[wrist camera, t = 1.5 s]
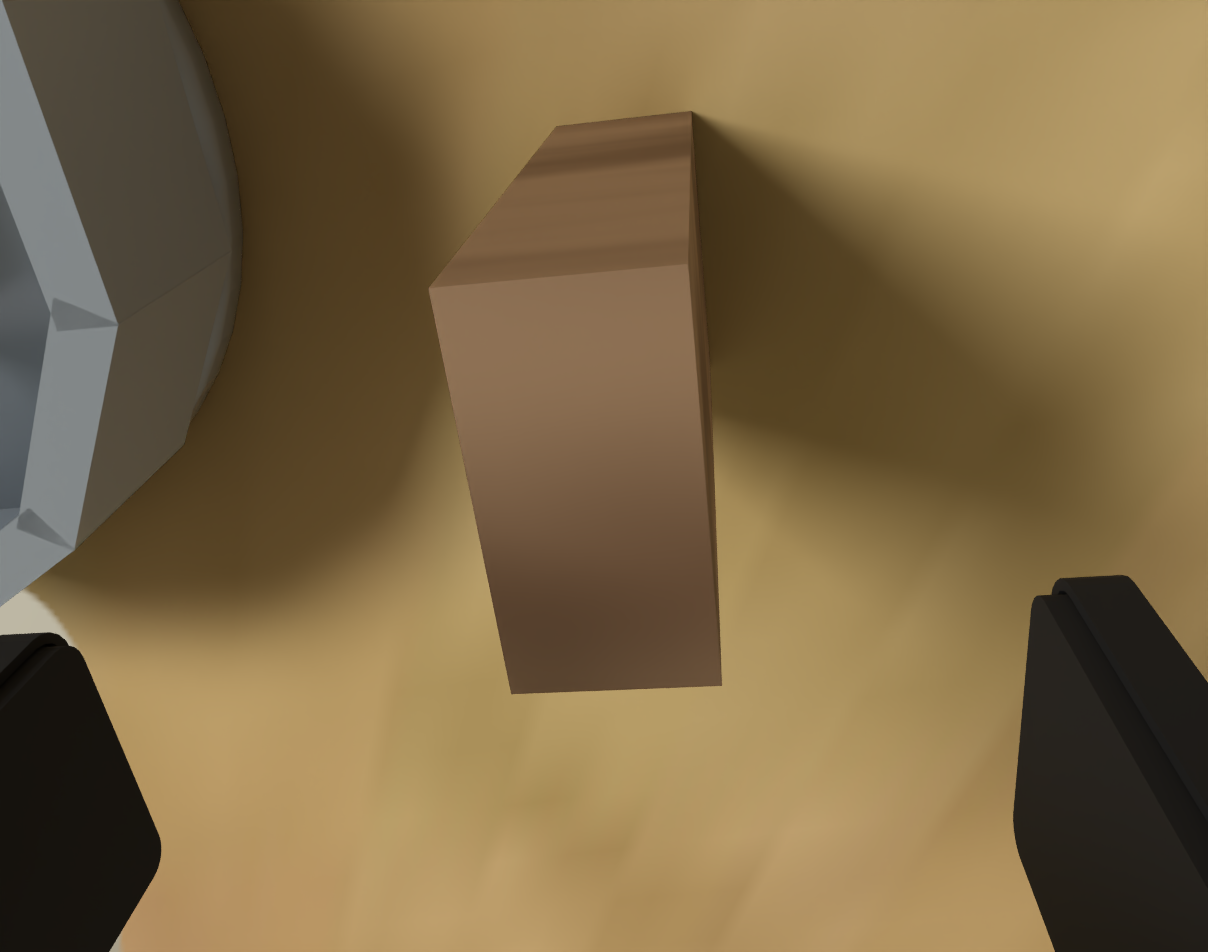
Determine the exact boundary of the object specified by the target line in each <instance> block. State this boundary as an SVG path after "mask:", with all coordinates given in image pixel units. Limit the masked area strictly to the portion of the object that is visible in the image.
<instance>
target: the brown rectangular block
mask: <svg viewBox="0 0 1208 952" xmlns="http://www.w3.org/2000/svg"><path fill="white" fill-rule="evenodd" d="M428 289H429V294H430V299H431V304H432V309H433V314H434V319H435V324H436V328H437V333H438V338H439V343H440V348H441V353H442V358H443V363H444V367H445V372H446V377H447V382H448V387H449V392H450V397H451V402H452V407H453V411H454V416H455V421H456V426H457V431H458V436H459V441H460V446H461V451H462V455H463V460H464V465H465V470H466V475H467V480H468V485H469V490H470V495H471V499H472V504H473V509H474V514H475V519H476V524H477V529H478V534H479V539H480V543H481V548H482V553H483V558H484V563H485V568H486V573H487V578H488V583H489V587H490V592H491V597H492V602H493V607H494V612H495V617H496V622H497V627H498V631H499V636H500V641H501V646H502V651H503V656H504V661H505V666H506V670H507V675H508V680H509V685H510V690H511V694H526V693H551V692H577V691H602V690H627V689H653V688H678V687H703V686H722V675H721V648H720V620H719V593H718V565H717V538H716V510H715V483H714V455H713V428H712V400H711V373H710V356H709V343H708V329H707V315H706V302H705V288H704V274H703V261H702V247H701V233H700V220H699V206H698V193H697V179H696V165H695V152H694V138H693V124H692V111H688V112H680V113H671V114H662V115H653V116H644V117H635V118H626V119H617V120H609V121H600V122H591V123H582V124H573V125H564V126H556V127H555V129H554V130H553V131H552V133H551V134H550V135H549V136H548V138H547V139H546V140H545V141H544V143H543V144H542V145H541V146H540V148H539V149H538V150H537V151H536V153H535V154H534V155H533V157H532V158H531V159H530V160H529V162H528V163H527V164H526V165H525V167H524V168H523V169H522V170H521V172H520V173H519V174H518V175H517V177H516V178H515V179H514V181H513V182H512V183H511V184H510V186H509V187H508V188H507V189H506V191H505V192H504V193H503V194H502V196H501V197H500V198H499V199H498V201H497V202H496V203H495V205H494V206H493V207H492V208H491V210H490V211H489V212H488V213H487V215H486V216H485V217H484V218H483V220H482V221H481V222H480V223H479V225H478V226H477V227H476V229H475V230H474V231H473V232H472V234H471V235H470V236H469V237H468V239H467V240H466V241H465V242H464V244H463V245H462V246H461V247H460V249H459V250H458V251H457V253H456V254H455V255H454V256H453V258H452V259H451V260H450V261H449V263H448V264H447V265H446V266H445V268H444V269H443V270H442V271H441V273H440V274H439V275H438V277H437V278H436V279H435V280H434V282H433V283H432V284H431V285H430V287H429V288H428Z"/></svg>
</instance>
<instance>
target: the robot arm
mask: <svg viewBox="0 0 1208 952" xmlns="http://www.w3.org/2000/svg"><path fill="white" fill-rule="evenodd" d="M1013 823H1014V833H1015V840H1016V845H1017V849H1018V853H1019V856H1020V859H1021V862H1022V864H1023V867H1024V870H1025V872H1026V875H1027V878H1028V880H1029V883H1030V886H1031V888H1032V891H1033V894H1034V896H1035V899H1036V902H1037V904H1038V907H1039V910H1040V912H1041V915H1042V918H1043V920H1044V923H1045V926H1046V928H1047V931H1048V934H1049V936H1050V939H1051V942H1052V944H1053V947H1054V950H1055V952H1208V682H1207V681H1206V680H1205V678H1204V677H1203V675H1202V674H1201V673H1200V671H1199V670H1198V669H1197V667H1196V666H1195V665H1194V663H1193V662H1192V660H1191V659H1190V658H1189V656H1188V655H1187V654H1186V652H1185V651H1184V650H1183V648H1182V647H1181V645H1180V644H1179V643H1178V641H1177V640H1176V639H1175V637H1174V636H1173V635H1172V633H1171V632H1170V630H1169V629H1168V628H1167V626H1166V625H1165V624H1164V622H1163V621H1162V620H1161V618H1160V617H1159V615H1158V614H1157V613H1156V611H1155V610H1154V609H1153V607H1152V606H1151V605H1150V603H1149V602H1148V600H1147V599H1146V598H1145V596H1144V595H1143V594H1142V592H1141V591H1140V590H1139V588H1138V587H1137V585H1136V584H1135V583H1134V582H1133V581H1132V580H1131V579H1130V578H1129V577H1128V576H1124V575H1114V576H1096V577H1077V578H1060V579H1059V580H1057V581H1056V582H1055V584H1054V587H1053V589H1052V595H1040V596H1036V597H1035V598H1034V600H1033V603H1032V608H1031V617H1030V629H1029V640H1028V652H1027V663H1026V675H1025V686H1024V697H1023V709H1022V720H1021V732H1020V743H1019V755H1018V766H1017V778H1016V789H1015V800H1014V812H1013ZM160 858H161V841H160V837H159V834H158V832H157V829H156V827H155V824H154V822H153V820H152V817H151V815H150V813H149V810H148V808H147V806H146V803H145V801H144V799H143V796H142V794H141V792H140V789H139V787H138V784H137V782H136V780H135V777H134V775H133V773H132V770H131V768H130V766H129V763H128V761H127V759H126V756H125V754H124V751H123V749H122V747H121V744H120V742H119V740H118V737H117V735H116V733H115V730H114V728H113V726H112V723H111V721H110V719H109V716H108V714H107V711H106V709H105V707H104V704H103V702H102V700H101V697H100V695H99V693H98V690H97V688H96V686H95V683H94V681H93V679H92V676H91V674H90V671H89V669H88V667H87V664H86V662H85V660H84V658H83V656H82V654H81V653H80V651H79V650H77V649H76V648H75V647H72V646H69V645H68V643H67V642H66V640H65V639H63V638H62V637H61V636H60V635H58V634H54V633H31V634H12V635H0V952H109V951H110V949H111V948H112V946H113V944H114V943H115V941H116V939H117V938H118V936H119V934H120V933H121V931H122V929H123V928H124V926H125V924H126V923H127V921H128V919H129V918H130V916H131V914H132V913H133V911H134V909H135V908H136V906H137V904H138V903H139V901H140V899H141V898H142V896H143V894H144V893H145V891H146V889H147V888H148V886H149V884H150V883H151V881H152V879H153V878H154V876H155V874H156V872H157V869H158V866H159V863H160Z"/></svg>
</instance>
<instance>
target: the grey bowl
mask: <svg viewBox="0 0 1208 952" xmlns="http://www.w3.org/2000/svg"><path fill="white" fill-rule="evenodd" d="M242 247H243V227H242V216H241V205H240V195H239V184H238V175H237V171H236V166H235V161H234V157H233V152H232V148H231V143H230V138H229V134H228V129H227V125H226V120H225V116H224V113H223V110H222V107H221V104H220V101H219V99H218V96H217V93H216V90H215V87H214V84H213V81H212V78H211V75H210V72H209V69H208V66H207V63H206V60H205V57H204V55H203V53H202V50H201V48H200V46H199V44H198V42H197V40H196V38H195V35H194V33H193V31H192V29H191V27H190V25H189V22H188V20H187V18H186V16H185V14H184V12H183V10H182V7H181V5H180V3H179V1H178V0H0V607H1V606H2V605H3V604H4V603H6V602H7V601H8V600H9V599H11V598H12V597H14V596H15V595H16V594H18V593H19V592H20V591H21V590H23V589H24V588H25V587H27V586H28V585H29V584H31V583H32V582H33V581H35V580H36V579H37V578H38V577H40V576H41V575H42V574H44V573H45V572H46V571H48V570H49V569H50V568H52V567H53V566H54V565H55V564H57V563H58V562H59V561H61V560H62V559H63V558H65V557H66V556H67V555H69V554H70V553H71V552H72V551H74V550H76V549H77V548H78V547H79V546H80V545H81V544H82V543H83V542H84V541H85V540H86V539H87V538H88V537H89V536H90V535H91V534H92V533H93V532H94V531H95V530H96V529H97V528H98V527H99V526H100V525H101V524H102V523H104V522H105V521H106V520H107V519H108V518H109V517H110V516H111V515H112V514H113V513H114V512H115V511H116V510H117V509H118V508H119V507H120V506H121V505H122V504H123V503H124V502H125V501H126V500H127V499H128V498H129V497H130V496H131V495H133V494H134V493H135V492H136V491H137V490H138V489H139V488H140V487H141V486H142V485H143V484H144V483H145V482H146V481H147V480H148V479H149V478H150V477H151V476H152V475H153V474H154V473H155V472H156V471H157V470H158V469H159V468H160V467H162V466H163V465H164V464H165V463H166V462H167V461H168V460H169V459H170V458H171V457H172V456H173V455H174V454H175V453H176V452H177V451H178V450H179V449H180V448H181V447H182V446H183V445H184V444H185V440H186V435H187V431H188V427H189V423H190V421H191V420H192V419H193V418H194V416H195V415H196V414H197V412H198V411H199V409H200V407H201V405H202V404H203V402H204V400H205V398H206V396H207V394H208V392H209V390H210V388H211V387H212V385H213V383H214V381H215V379H216V377H217V375H218V373H219V370H220V367H221V364H222V361H223V358H224V356H225V353H226V350H227V347H228V344H229V341H230V338H231V335H232V332H233V327H234V321H235V316H236V310H237V305H238V299H239V293H240V288H241V275H242Z"/></svg>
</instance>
